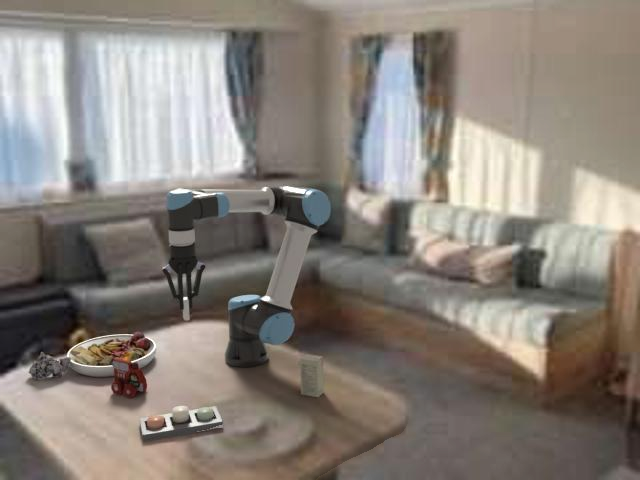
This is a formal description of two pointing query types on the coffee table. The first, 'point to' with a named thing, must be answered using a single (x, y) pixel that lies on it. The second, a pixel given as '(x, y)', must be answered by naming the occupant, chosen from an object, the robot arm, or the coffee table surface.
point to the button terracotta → (155, 422)
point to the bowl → (110, 353)
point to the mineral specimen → (48, 367)
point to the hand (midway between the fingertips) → (186, 318)
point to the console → (179, 426)
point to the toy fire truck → (128, 378)
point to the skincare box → (311, 375)
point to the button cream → (180, 414)
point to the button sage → (204, 414)
